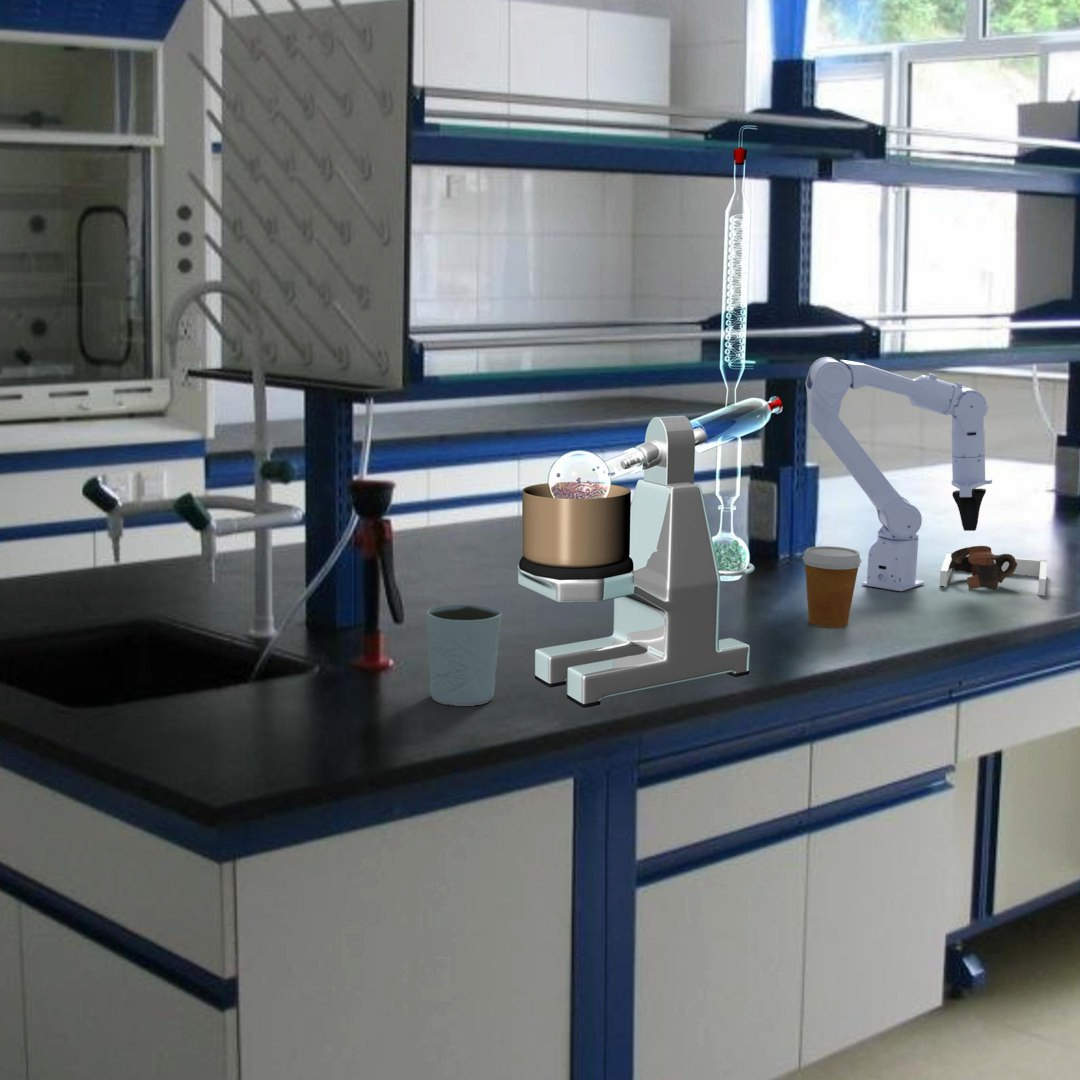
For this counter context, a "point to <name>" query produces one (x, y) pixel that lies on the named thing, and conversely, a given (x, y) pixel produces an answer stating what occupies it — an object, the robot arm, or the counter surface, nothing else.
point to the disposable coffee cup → (830, 584)
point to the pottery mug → (982, 566)
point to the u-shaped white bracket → (1023, 568)
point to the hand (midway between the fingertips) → (969, 530)
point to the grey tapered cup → (463, 652)
